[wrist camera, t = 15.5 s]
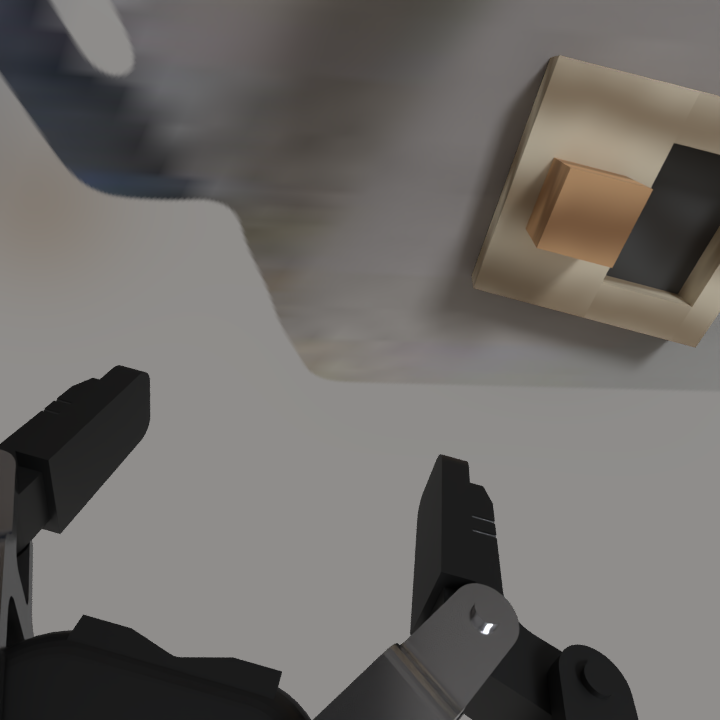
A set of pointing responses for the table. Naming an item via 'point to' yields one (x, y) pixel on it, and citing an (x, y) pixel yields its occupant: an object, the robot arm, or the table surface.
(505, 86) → the table surface
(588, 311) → the hole board
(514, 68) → the table surface
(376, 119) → the table surface
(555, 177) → the cube
